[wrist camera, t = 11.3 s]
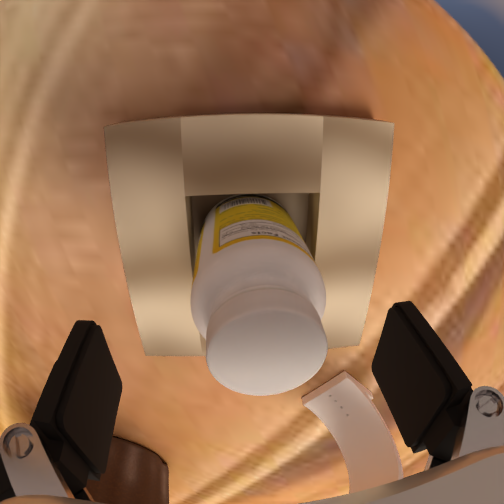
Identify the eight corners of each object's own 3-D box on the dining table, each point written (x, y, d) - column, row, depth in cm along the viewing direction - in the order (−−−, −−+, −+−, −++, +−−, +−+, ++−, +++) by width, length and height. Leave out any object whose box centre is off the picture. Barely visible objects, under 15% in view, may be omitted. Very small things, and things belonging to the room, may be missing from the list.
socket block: (120, 122, 15) (103, 126, 13) (374, 119, 16) (394, 123, 14) (152, 331, 22) (145, 355, 19) (348, 322, 22) (359, 345, 20)
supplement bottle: (250, 291, 20) (266, 423, 12) (182, 239, 19) (148, 363, 10) (313, 232, 19) (377, 346, 10) (245, 170, 17) (265, 251, 8)
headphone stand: (344, 370, 25) (389, 497, 14) (375, 395, 27) (417, 501, 16) (301, 397, 26) (327, 522, 15) (336, 419, 28) (366, 524, 17)
